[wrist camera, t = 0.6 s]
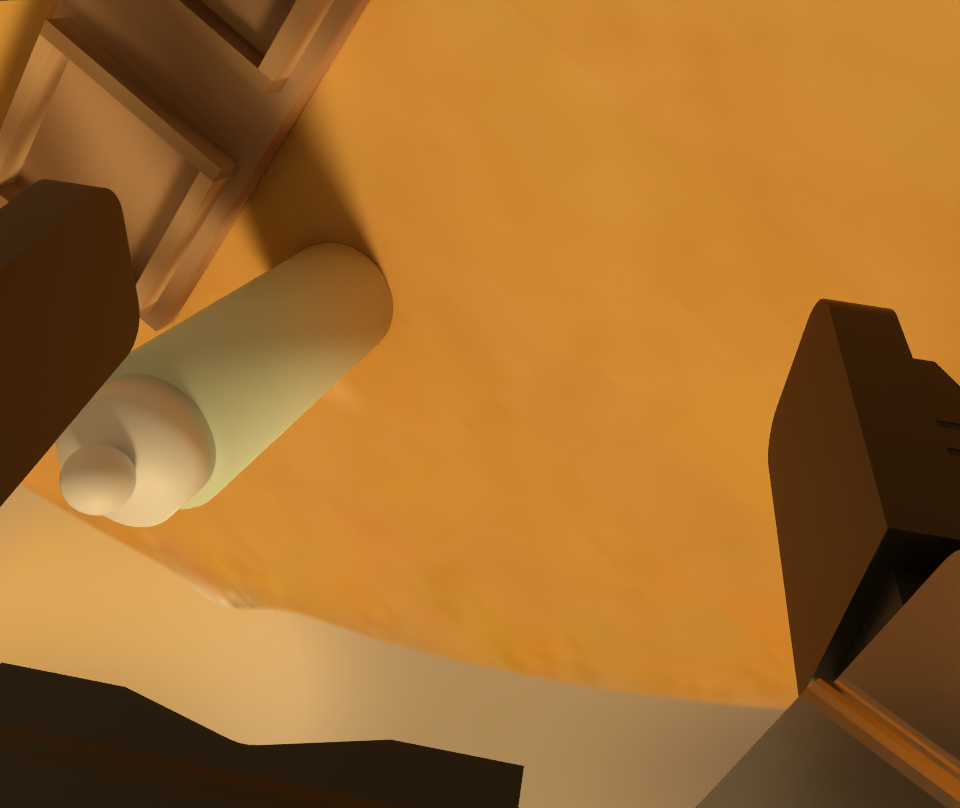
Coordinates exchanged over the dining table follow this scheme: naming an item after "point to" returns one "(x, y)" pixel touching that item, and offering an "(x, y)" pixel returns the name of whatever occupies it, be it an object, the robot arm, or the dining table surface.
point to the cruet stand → (168, 116)
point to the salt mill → (222, 387)
